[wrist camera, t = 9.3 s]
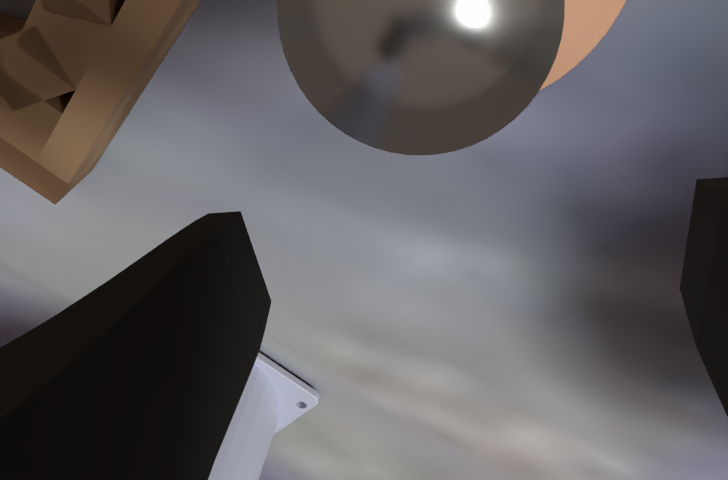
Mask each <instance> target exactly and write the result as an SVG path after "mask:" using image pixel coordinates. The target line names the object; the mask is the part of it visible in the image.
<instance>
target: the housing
mask: <svg viewBox="0 0 728 480" xmlns="http://www.w3.org/2000/svg"><path fill="white" fill-rule="evenodd" d="M200 1H201V0H36V1H35V3H34V5H33V7H32V10H31V12H30V14H29V16H28V18H27V20H24V19H20V18H16V17H11V16H7V15H3V14H0V167H1V168H2V169H4V170H5V171H6V172H8V173H9V174H11V175H12V176H14V177H15V178H17V179H18V180H20V181H21V182H23V183H24V184H26V185H27V186H29V187H30V188H32V189H33V190H34V191H36V192H37V193H39V194H40V195H42V196H43V197H45V198H46V199H48V200H49V201H51V202H52V203H54V204H56V203H57V202H59V201H60V200H61V199H62V198H63V197H64V196H65V195H66V194H67V193H68V192H69V191H70V190H71V189H72V188H74V187H75V186H76V185H77V184H78V183H79V182H80V181H81V180H82V179H83V178H84V177H85V176H86V175H88V174H89V173H90V172H91V171H92V170H93V168H94V167H95V165H96V163H97V162H98V160H99V159H100V157H101V156H102V154H103V153H104V151H105V149H106V148H107V146H108V145H109V143H110V142H111V140H112V139H113V137H114V135H115V134H116V132H117V131H118V129H119V128H120V126H121V124H122V123H123V121H124V120H125V118H126V117H127V115H128V114H129V112H130V110H131V109H132V107H133V106H134V104H135V103H136V101H137V99H138V98H139V96H140V95H141V93H142V92H143V90H144V89H145V87H146V85H147V84H148V82H149V81H150V79H151V78H152V76H153V75H154V73H155V71H156V70H157V68H158V67H159V65H160V64H161V62H162V60H163V59H164V57H165V56H166V54H167V53H168V51H169V50H170V48H171V46H172V45H173V43H174V42H175V40H176V39H177V37H178V36H179V34H180V32H181V31H182V29H183V28H184V26H185V25H186V23H187V21H188V20H189V18H190V17H191V15H192V14H193V12H194V11H195V9H196V7H197V6H198V4H199V3H200Z"/></svg>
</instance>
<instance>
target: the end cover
mask: <svg viewBox="0 0 728 480" xmlns="http://www.w3.org/2000/svg"><path fill="white" fill-rule="evenodd" d="M564 13H565V0H278V23H279V31H280V38H281V42H282V46H283V50H284V54H285V57H286V59H287V62H288V65H289V67H290V70H291V72H292V74H293V76H294V78H295V80H296V82H297V84H298V85H299V87H300V88H301V90H302V91H303V93H304V94H305V96H306V97H307V99H308V100H309V101H310V102H311V104H312V105H313V106H314V107H315V108H316V109H317V111H318V112H319V113H320V114H321V115H322V116H324V117H325V118H326V119H327V120H328V121H329V122H330V123H331V124H332V125H334V126H335V127H337V128H338V129H339V130H341V131H342V132H344V133H345V134H347V135H349V136H350V137H352V138H354V139H356V140H358V141H359V142H362V143H364V144H367V145H369V146H371V147H374V148H377V149H381V150H384V151H388V152H393V153H399V154H405V155H433V154H441V153H447V152H452V151H456V150H459V149H462V148H465V147H468V146H471V145H474V144H476V143H478V142H480V141H482V140H484V139H487V138H488V137H490V136H491V135H493V134H495V133H496V132H498V131H500V130H501V129H502V128H504V127H505V126H506V125H508V124H509V123H510V122H511V121H513V120H514V119H515V118H516V117H517V116H518V115H519V114H520V113H521V112H522V111H523V110H524V109H525V108H526V107H527V106H528V105H529V103H530V102H531V101H532V99H533V98H534V97H535V96H536V94H537V93H538V92H539V90H540V88H541V87H542V85H543V83H544V82H545V80H546V78H547V77H548V75H549V72H550V70H551V68H552V66H553V63H554V61H555V59H556V56H557V52H558V49H559V45H560V42H561V38H562V31H563V25H564Z"/></svg>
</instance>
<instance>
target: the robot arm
mask: <svg viewBox="0 0 728 480" xmlns="http://www.w3.org/2000/svg"><path fill="white" fill-rule="evenodd" d="M680 290H681V294H682V298H683V301H684V305H685V309H686V313H687V316H688V320H689V323H690V327H691V330H692V333H693V337H694V340H695V343H696V346H697V349H698V351H699V353H700V356H701V358H702V360H703V362H704V365H705V367H706V369H707V372H708V374H709V376H710V378H711V381H712V383H713V385H714V387H715V390H716V392H717V394H718V396H719V398H720V401H721V403H722V405H723V407H724V409H725V412H726V414H727V416H728V177H724V178H710V179H697V181H696V188H695V194H694V201H693V207H692V213H691V220H690V226H689V233H688V239H687V246H686V252H685V259H684V265H683V271H682V278H681V284H680ZM270 305H271V299H270V296H269V293H268V290H267V287H266V285H265V282H264V279H263V276H262V273H261V270H260V267H259V264H258V261H257V258H256V255H255V252H254V250H253V247H252V244H251V241H250V238H249V235H248V232H247V229H246V226H245V223H244V220H243V217H242V215H241V212H240V211H239V212H225V213H210V214H207V215H205V216H203V217H201V218H200V219H198V220H196V221H194V222H193V223H191V224H190V225H188V226H187V227H185V228H183V229H182V230H180V231H179V232H177V233H176V234H175V235H173V236H172V237H170V238H169V239H167V240H166V241H164V242H163V243H162V244H160V245H159V246H157V247H156V248H154V249H153V250H152V251H150V252H149V253H147V254H146V255H145V256H143V257H142V258H140V259H139V260H137V261H136V262H135V263H133V264H132V265H130V266H129V267H127V268H126V269H125V270H123V271H122V272H120V273H119V274H117V275H116V276H115V277H113V278H112V279H110V280H109V281H107V282H106V283H104V284H103V285H101V286H100V287H98V288H97V289H95V290H94V291H92V292H91V293H89V294H87V295H86V296H84V297H83V298H81V299H80V300H78V301H77V302H75V303H74V304H72V305H71V306H69V307H68V308H66V309H65V310H63V311H62V312H60V313H59V314H57V315H55V316H54V317H52V318H51V319H49V320H47V321H46V322H44V323H42V324H41V325H39V326H37V327H36V328H34V329H32V330H31V331H29V332H27V333H25V334H24V335H22V336H20V337H18V338H17V339H15V340H13V341H11V342H9V343H8V344H6V345H4V346H2V347H0V480H259V477H260V474H261V471H262V468H263V465H264V462H265V459H266V456H267V453H268V450H269V447H270V443H271V440H272V437H273V434H275V433H276V432H278V431H279V430H281V429H282V428H284V427H285V426H287V425H288V424H289V423H291V422H292V421H294V420H295V419H297V418H298V417H300V416H301V415H303V414H304V413H305V412H307V411H308V410H310V409H311V408H313V407H314V406H316V405H317V404H318V400H319V394H318V392H317V391H315V390H314V389H313V388H311V387H310V386H308V385H307V384H305V383H304V382H302V381H301V380H299V379H298V378H296V377H295V376H293V375H292V374H290V373H289V372H287V371H286V370H284V369H283V368H281V367H280V366H279V365H277V364H276V363H274V362H273V361H271V360H270V359H268V358H267V357H265V356H264V355H262V354H261V353H259V350H260V346H261V342H262V339H263V335H264V331H265V327H266V323H267V318H268V314H269V309H270Z"/></svg>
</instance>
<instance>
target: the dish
mask: <svg viewBox="0 0 728 480" xmlns="http://www.w3.org/2000/svg"><path fill="white" fill-rule="evenodd" d="M625 1H626V0H565V13H564V25H563V31H562V38H561V42H560V45H559V49H558V52H557V56H556V59H555V61H554V63H553V66H552V68H551V70H550V72H549V75H548V77H547V78H546V80H545V82H544V83H543V85H542V87H541V88H540V90H541V89H543V88H544V87H546V86H548V85H549V84H551V83H553V82H554V81H556V80H558V79H559V78H560V77H562V76H563V75H564V74H566V73H567V72H568V71H570V70H571V69H572V68H574V67H575V66H576V65H577V64H578V63H579V62H580V61H581V60H582V59H583V58H584V57H585V56H586V55H587V54H589V53H590V52H591V51H592V50H593V48H594V47H595V46H596V45H597V44H598V42H599V41H600V40H601V39H602V38H603V36H604V35H605V34H606V33H607V31H608V30H609V28H610V27H611V25H612V24H613V22H614V21H615V19H616V18H617V16H618V14H619V13H620V11H621V9H622V7H623V5H624V3H625Z"/></svg>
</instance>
